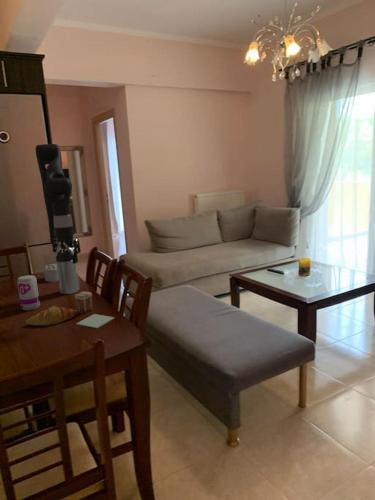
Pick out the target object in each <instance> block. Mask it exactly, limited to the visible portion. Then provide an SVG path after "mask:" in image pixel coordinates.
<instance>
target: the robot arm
mask: <svg viewBox="0 0 375 500" xmlns="http://www.w3.org/2000/svg"><path fill="white" fill-rule="evenodd" d="M35 157H36V161H37V162H36V163H37V165H38V171H39V174H40V179H41V185H42V191H43V198H44V205H45V209H46V215H47V220H48V230H49V239H50V244H51V246H52V252H53V253H55V254H56V255H55V262H56V264H57V270H58V278H59V281H58V284H59V293H60V294H61V295H70V294H75V293H77V292H79V290H80V279H79V272H78V271H77V265H76V264H77V263H78V260H79V259H78V254H81V251H82V250H81V244H80V239H79V238H76V239H74V235H75V234H74V233H75V232H74V226H73V218H72V212H71V211H72V210H71V196H72V190H73V182H72V181H71V180H70V179H69V178H68V177H65V172H64V170H63V157H62V152H61V149H60V146H59V145H58V144H55V143H46V144H37V145H36V146H35ZM46 166H47V167H46Z"/></svg>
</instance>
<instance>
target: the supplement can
mask: <svg viewBox="0 0 375 500" xmlns="http://www.w3.org/2000/svg"><path fill="white" fill-rule="evenodd" d="M37 280H38V279H37V277H36V276H35V275H34V274H33V275H32V274H28V275H27V274H26V275H22V276H19V277H18V278H17V282H16V283H17V290H18V296H19V302H20V309H22V310H23V311H32V310H36V309H38V308H39V307H40V306H41V302H40V295H39V289H38V282H37Z"/></svg>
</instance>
